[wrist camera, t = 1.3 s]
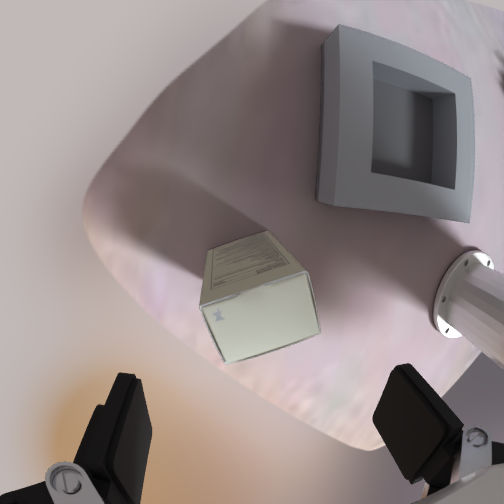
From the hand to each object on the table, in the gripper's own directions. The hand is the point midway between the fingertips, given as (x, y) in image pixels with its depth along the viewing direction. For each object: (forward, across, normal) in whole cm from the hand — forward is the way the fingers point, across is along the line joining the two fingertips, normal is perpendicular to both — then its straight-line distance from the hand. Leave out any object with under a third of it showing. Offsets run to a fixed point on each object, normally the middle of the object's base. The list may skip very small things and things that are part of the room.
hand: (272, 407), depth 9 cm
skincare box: (+19, -1, 0) cm, 19 cm away
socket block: (+18, -15, -14) cm, 27 cm away
